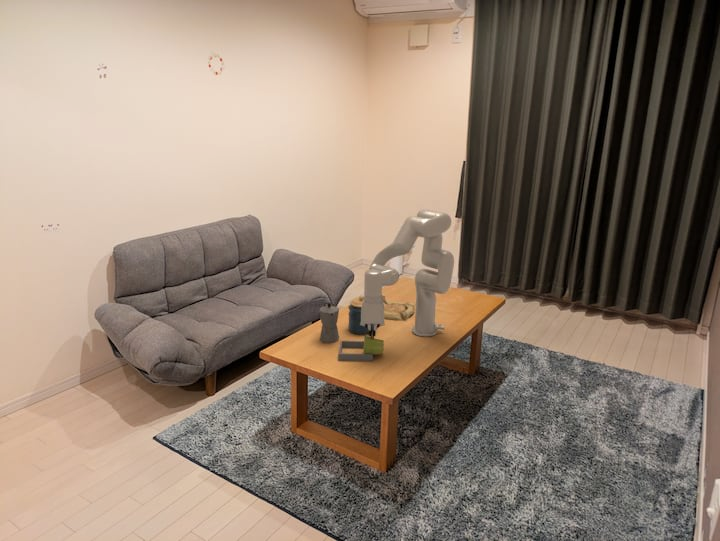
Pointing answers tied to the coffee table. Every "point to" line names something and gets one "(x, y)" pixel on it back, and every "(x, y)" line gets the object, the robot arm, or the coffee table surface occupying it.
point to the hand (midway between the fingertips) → (372, 337)
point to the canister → (356, 317)
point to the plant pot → (373, 346)
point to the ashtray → (397, 310)
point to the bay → (353, 356)
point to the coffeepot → (329, 323)
